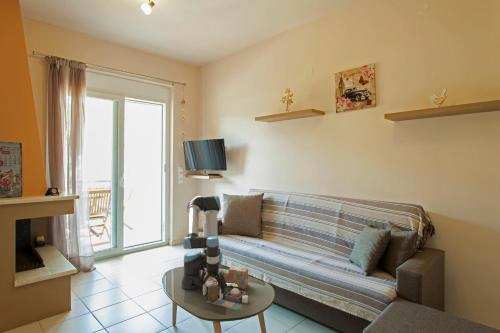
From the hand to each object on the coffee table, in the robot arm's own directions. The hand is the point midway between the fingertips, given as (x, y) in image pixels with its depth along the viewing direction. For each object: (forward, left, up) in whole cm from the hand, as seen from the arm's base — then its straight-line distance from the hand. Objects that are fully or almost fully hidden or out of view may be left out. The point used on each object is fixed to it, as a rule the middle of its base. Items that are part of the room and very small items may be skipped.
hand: (212, 296), depth 182 cm
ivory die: (+18, +8, -3) cm, 20 cm away
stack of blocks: (0, +25, -3) cm, 25 cm away
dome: (+11, +9, -2) cm, 14 cm away
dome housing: (+11, +9, -3) cm, 14 cm away
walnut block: (0, 0, -3) cm, 3 cm away
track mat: (+8, 0, -3) cm, 9 cm away
